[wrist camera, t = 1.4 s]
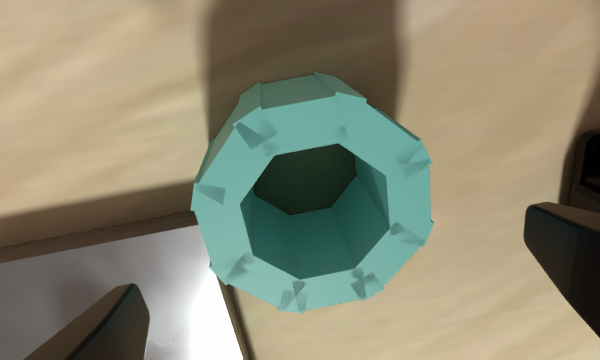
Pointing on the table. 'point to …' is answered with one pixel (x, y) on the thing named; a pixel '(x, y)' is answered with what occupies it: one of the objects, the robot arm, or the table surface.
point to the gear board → (114, 272)
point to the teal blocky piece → (320, 223)
